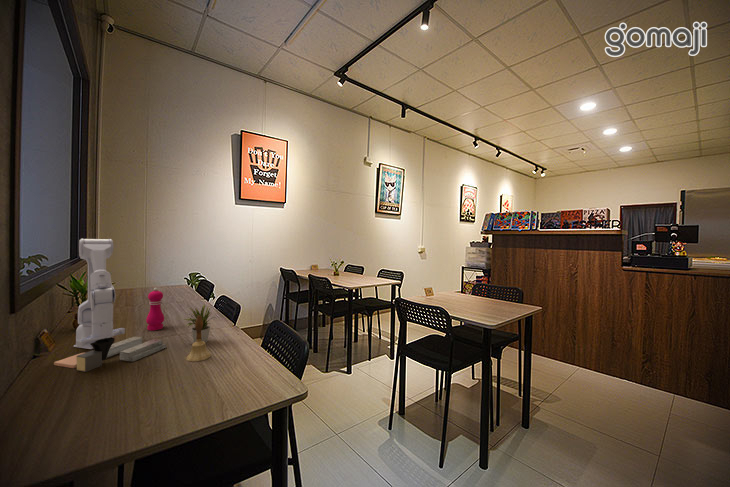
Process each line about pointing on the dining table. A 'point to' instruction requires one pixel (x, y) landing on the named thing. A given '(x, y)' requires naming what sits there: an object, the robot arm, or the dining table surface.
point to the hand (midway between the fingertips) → (102, 359)
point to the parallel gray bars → (135, 348)
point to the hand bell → (198, 344)
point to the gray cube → (89, 360)
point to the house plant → (205, 328)
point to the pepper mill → (155, 311)
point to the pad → (68, 361)
